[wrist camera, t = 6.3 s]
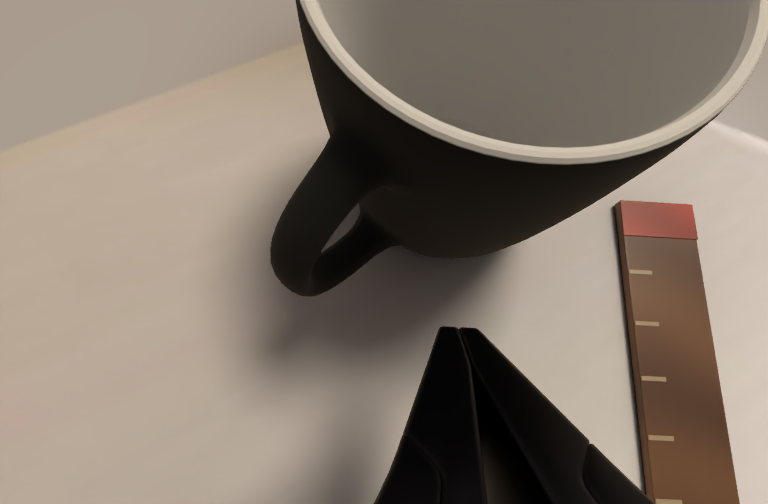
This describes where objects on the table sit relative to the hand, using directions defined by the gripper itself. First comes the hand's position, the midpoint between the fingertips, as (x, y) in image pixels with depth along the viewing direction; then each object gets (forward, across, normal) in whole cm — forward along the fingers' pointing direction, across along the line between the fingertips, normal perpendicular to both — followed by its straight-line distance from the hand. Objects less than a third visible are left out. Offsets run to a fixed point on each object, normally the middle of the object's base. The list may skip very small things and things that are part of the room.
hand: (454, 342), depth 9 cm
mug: (+9, 0, 0) cm, 9 cm away
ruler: (+4, -10, +6) cm, 12 cm away
